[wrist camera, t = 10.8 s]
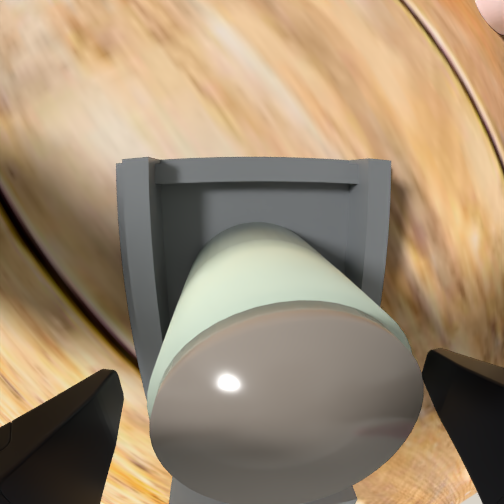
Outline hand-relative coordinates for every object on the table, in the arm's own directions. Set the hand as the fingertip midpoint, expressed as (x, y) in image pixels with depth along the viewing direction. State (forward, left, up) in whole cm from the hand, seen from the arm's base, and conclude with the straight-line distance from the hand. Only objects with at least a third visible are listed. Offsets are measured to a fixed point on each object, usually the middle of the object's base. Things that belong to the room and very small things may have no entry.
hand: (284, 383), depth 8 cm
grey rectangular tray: (0, -3, -7) cm, 7 cm away
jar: (0, 0, -6) cm, 6 cm away
